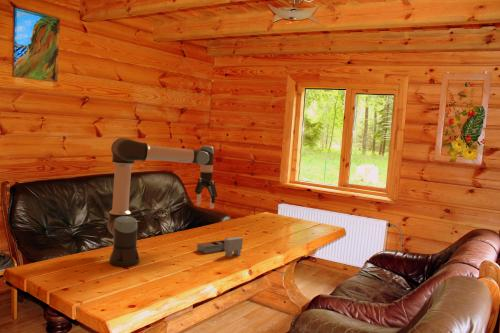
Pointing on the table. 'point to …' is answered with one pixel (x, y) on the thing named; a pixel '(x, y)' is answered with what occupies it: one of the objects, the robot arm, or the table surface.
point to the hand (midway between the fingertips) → (205, 206)
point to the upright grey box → (233, 246)
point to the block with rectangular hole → (211, 247)
